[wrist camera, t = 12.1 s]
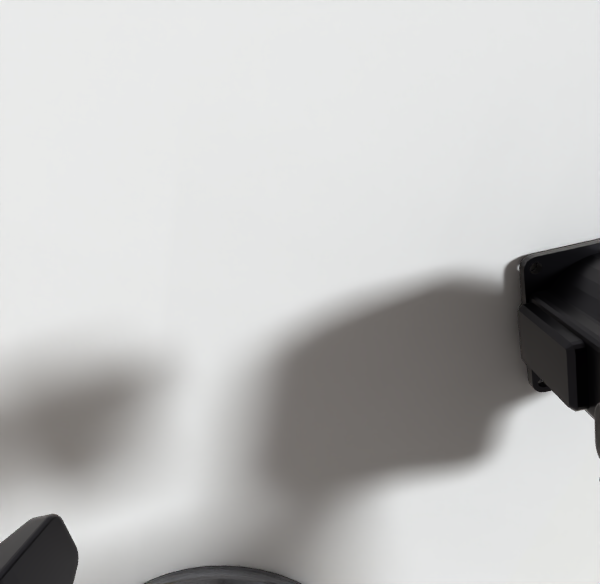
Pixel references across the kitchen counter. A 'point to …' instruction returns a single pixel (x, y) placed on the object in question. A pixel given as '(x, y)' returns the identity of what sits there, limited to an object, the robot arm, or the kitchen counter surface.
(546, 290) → the robot arm
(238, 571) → the base
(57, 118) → the kitchen counter surface
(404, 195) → the kitchen counter surface
